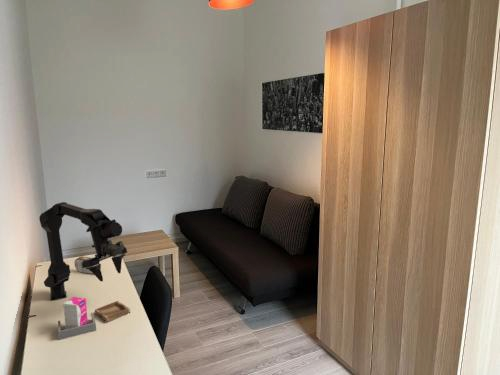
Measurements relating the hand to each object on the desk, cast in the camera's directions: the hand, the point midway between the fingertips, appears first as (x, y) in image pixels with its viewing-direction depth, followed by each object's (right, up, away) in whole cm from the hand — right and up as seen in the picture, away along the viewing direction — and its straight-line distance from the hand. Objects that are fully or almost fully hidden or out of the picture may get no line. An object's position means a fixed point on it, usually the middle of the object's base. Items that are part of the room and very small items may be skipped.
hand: (110, 277), depth 151 cm
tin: (-28, -8, +42) cm, 51 cm away
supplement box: (-9, -18, -9) cm, 22 cm away
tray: (0, -15, +1) cm, 15 cm away
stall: (-9, -17, -9) cm, 22 cm away
